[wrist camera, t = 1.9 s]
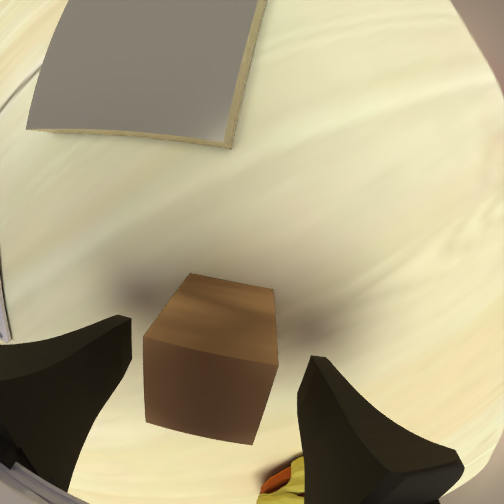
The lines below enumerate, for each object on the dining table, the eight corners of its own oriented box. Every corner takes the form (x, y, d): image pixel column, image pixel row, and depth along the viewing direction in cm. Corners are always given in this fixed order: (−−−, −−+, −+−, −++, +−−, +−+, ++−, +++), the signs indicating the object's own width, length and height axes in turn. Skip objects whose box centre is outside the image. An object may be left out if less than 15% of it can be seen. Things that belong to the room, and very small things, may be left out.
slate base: (60, 133, 13) (25, 129, 10) (109, -12, 10) (87, -34, 7) (232, 150, 13) (223, 142, 10) (272, -17, 10) (273, -49, 7)
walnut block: (182, 342, 15) (145, 422, 9) (190, 272, 14) (143, 336, 8) (256, 357, 15) (252, 445, 9) (273, 289, 14) (278, 365, 8)
